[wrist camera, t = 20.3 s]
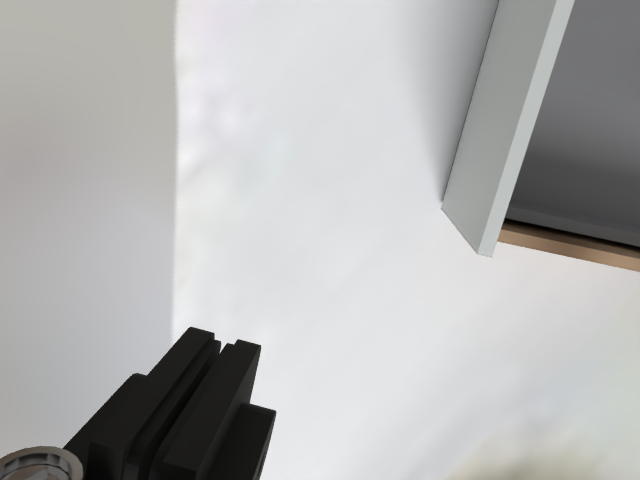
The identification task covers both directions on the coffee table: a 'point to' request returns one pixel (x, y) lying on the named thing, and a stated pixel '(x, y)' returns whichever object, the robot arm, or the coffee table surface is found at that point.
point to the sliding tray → (553, 124)
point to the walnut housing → (570, 244)
